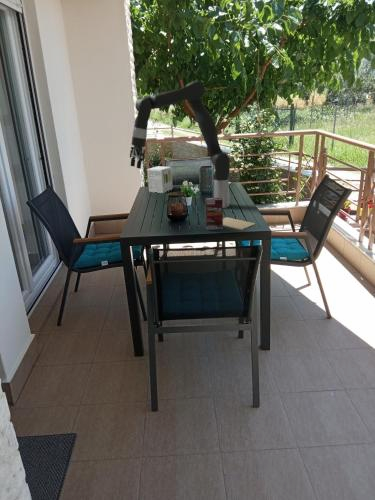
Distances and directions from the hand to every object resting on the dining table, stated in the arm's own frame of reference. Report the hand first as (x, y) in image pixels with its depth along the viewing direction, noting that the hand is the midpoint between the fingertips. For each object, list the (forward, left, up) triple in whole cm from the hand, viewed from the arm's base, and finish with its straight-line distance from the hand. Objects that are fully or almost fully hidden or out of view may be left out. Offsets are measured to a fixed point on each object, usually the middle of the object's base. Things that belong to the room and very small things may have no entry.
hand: (135, 167), depth 216 cm
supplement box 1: (-57, -48, -31) cm, 81 cm away
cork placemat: (-26, +49, -30) cm, 63 cm away
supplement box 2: (-14, +46, -30) cm, 57 cm away
